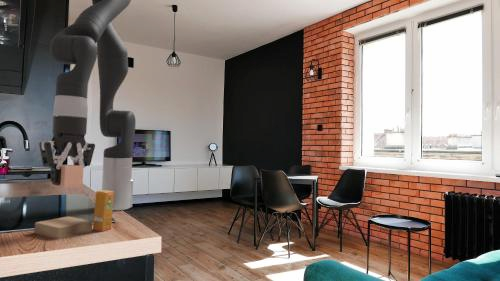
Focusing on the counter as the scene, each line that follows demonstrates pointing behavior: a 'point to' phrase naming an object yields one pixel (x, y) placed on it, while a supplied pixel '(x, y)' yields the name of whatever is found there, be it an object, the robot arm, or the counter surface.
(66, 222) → the tan flat block
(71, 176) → the terracotta block
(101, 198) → the supplement box
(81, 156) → the robot arm
